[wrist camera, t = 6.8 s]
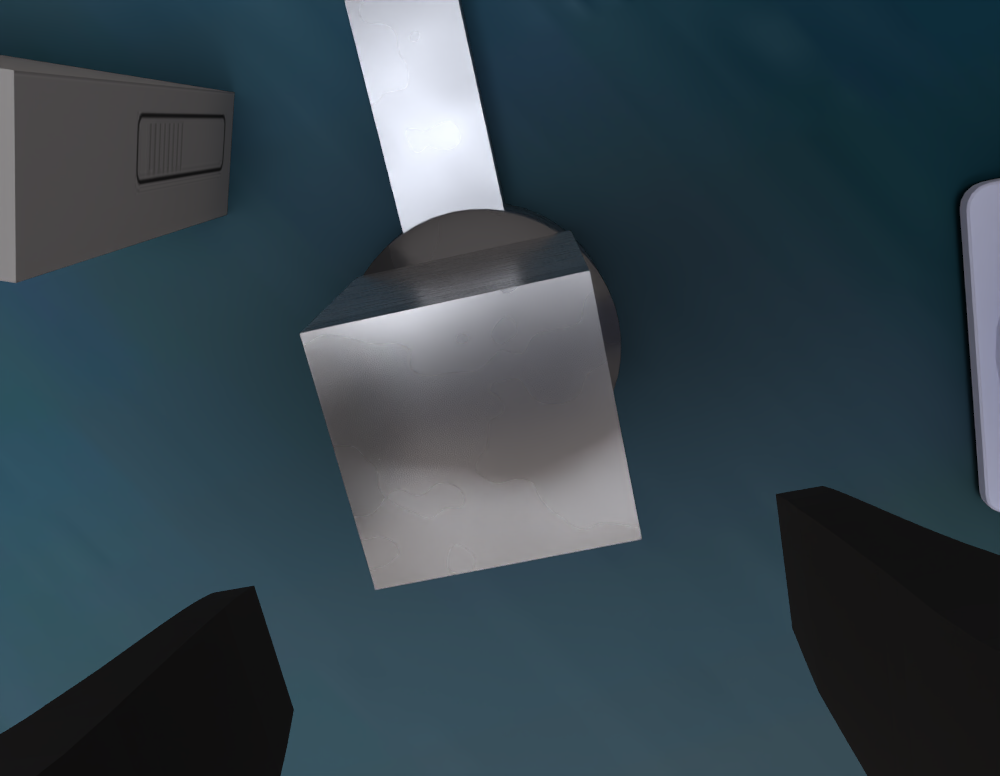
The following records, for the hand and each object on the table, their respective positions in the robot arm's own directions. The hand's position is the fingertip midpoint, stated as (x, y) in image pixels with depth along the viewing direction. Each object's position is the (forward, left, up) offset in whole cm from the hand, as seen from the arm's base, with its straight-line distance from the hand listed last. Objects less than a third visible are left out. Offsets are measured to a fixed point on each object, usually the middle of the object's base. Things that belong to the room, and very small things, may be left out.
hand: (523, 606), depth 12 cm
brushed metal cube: (0, -2, -8) cm, 8 cm away
